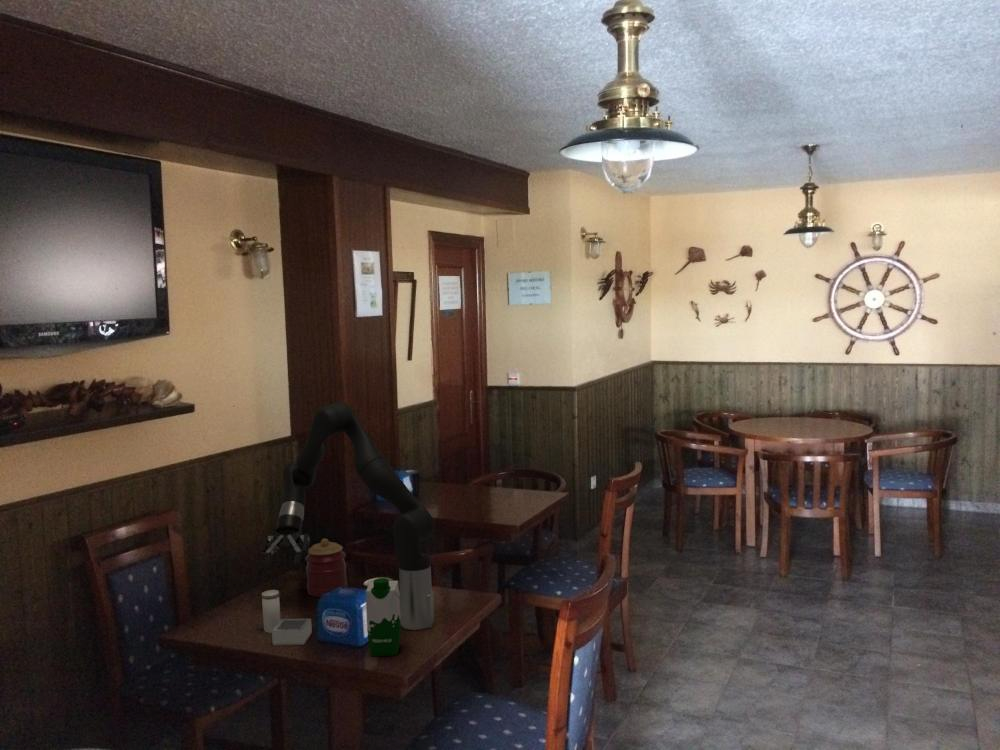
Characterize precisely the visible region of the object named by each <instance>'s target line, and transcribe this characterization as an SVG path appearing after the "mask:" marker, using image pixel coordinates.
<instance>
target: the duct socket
mask: <svg viewBox="0 0 1000 750" xmlns="http://www.w3.org/2000/svg"><path fill="white" fill-rule="evenodd" d="M280 619H281V620H280V622H279V623H278V624H277V625H276V627H275V628H274V629H273V630H272V633H271V637H272V639H271V640H272V646H303V645H305V643H306V642H307V640H308V639H309V637H310V636H311V635H312V633H313V632H312V631H313V629H312V627H313V626H312V618H280Z"/></svg>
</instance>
